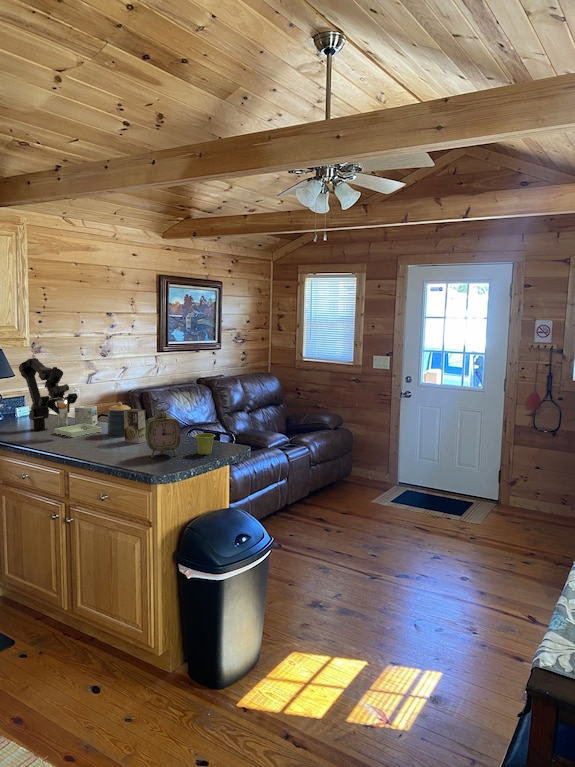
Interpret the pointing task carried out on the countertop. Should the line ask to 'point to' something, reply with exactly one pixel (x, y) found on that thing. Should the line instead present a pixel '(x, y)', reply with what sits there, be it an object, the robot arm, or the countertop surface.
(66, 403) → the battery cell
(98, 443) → the countertop surface
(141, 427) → the coffee box
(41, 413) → the robot arm
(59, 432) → the cell tray
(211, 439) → the plant pot
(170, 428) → the tabletop clock
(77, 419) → the light bulb box
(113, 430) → the canister
